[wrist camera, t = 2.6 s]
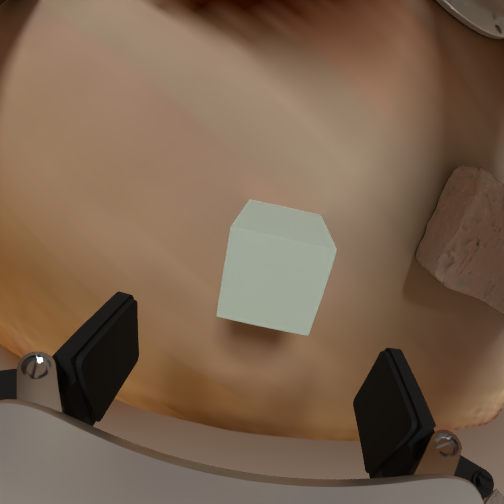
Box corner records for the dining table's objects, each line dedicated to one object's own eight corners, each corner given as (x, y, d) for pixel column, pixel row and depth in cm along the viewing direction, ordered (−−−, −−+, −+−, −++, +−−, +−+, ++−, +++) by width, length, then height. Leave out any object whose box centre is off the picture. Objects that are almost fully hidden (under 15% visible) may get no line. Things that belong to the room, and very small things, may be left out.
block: (320, 215, 19) (337, 249, 13) (303, 279, 21) (308, 335, 15) (249, 199, 20) (230, 226, 13) (237, 264, 22) (216, 316, 15)
